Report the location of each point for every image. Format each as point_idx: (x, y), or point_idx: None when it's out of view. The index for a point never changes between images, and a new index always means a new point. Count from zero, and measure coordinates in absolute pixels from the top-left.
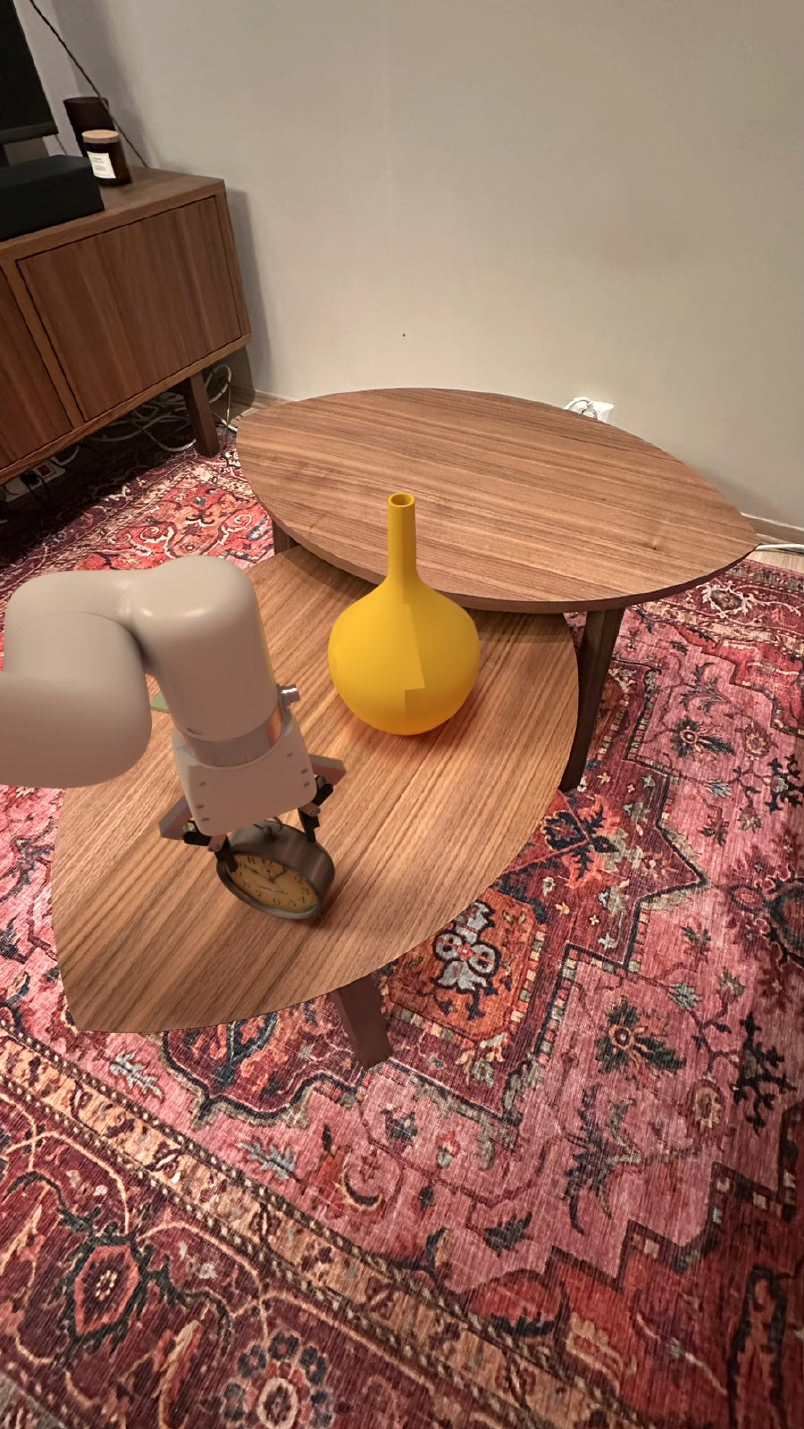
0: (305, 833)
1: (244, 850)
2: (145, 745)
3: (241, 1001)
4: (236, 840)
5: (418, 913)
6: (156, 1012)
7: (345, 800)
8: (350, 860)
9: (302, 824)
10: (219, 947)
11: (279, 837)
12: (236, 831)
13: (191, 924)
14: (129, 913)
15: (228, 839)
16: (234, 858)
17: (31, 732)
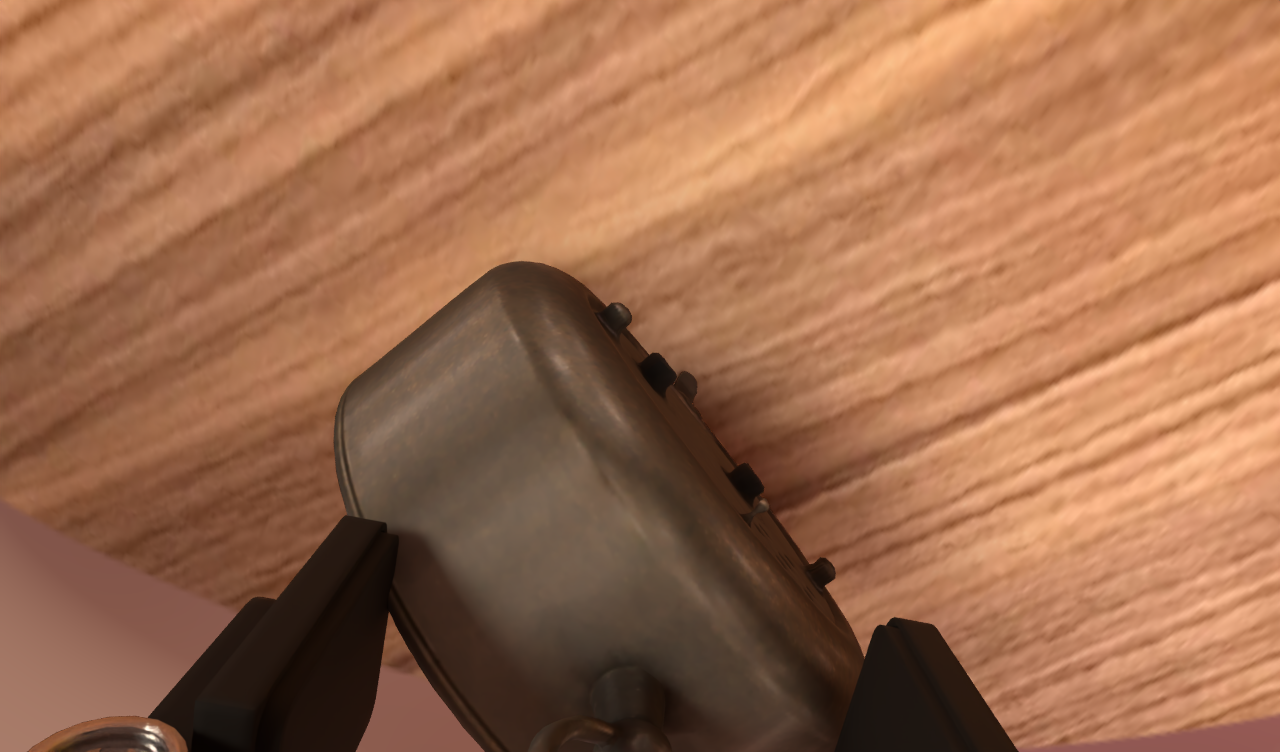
0: (846, 749)
1: (447, 680)
2: None
3: None
4: (449, 515)
5: None
6: (79, 519)
7: (1072, 162)
8: (905, 419)
9: (871, 736)
10: None
11: (692, 723)
12: (495, 390)
13: (273, 304)
14: (58, 111)
15: (363, 610)
16: (362, 701)
17: None
